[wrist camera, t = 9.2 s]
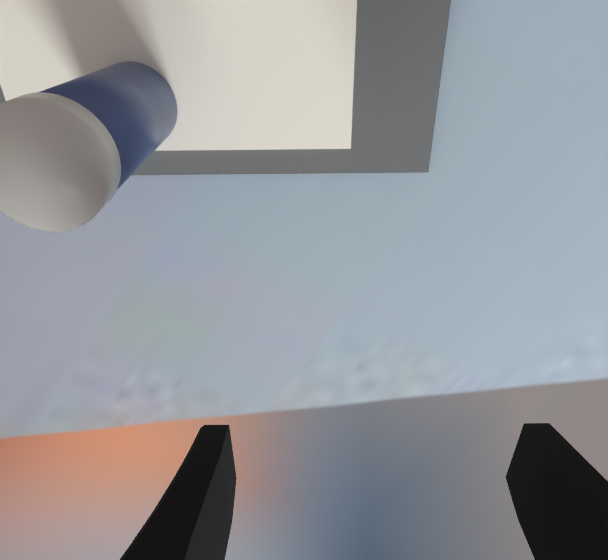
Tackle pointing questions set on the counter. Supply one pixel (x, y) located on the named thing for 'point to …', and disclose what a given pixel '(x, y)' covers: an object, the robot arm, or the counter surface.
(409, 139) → the desk mat
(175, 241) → the counter surface
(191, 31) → the paper
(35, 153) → the marker
